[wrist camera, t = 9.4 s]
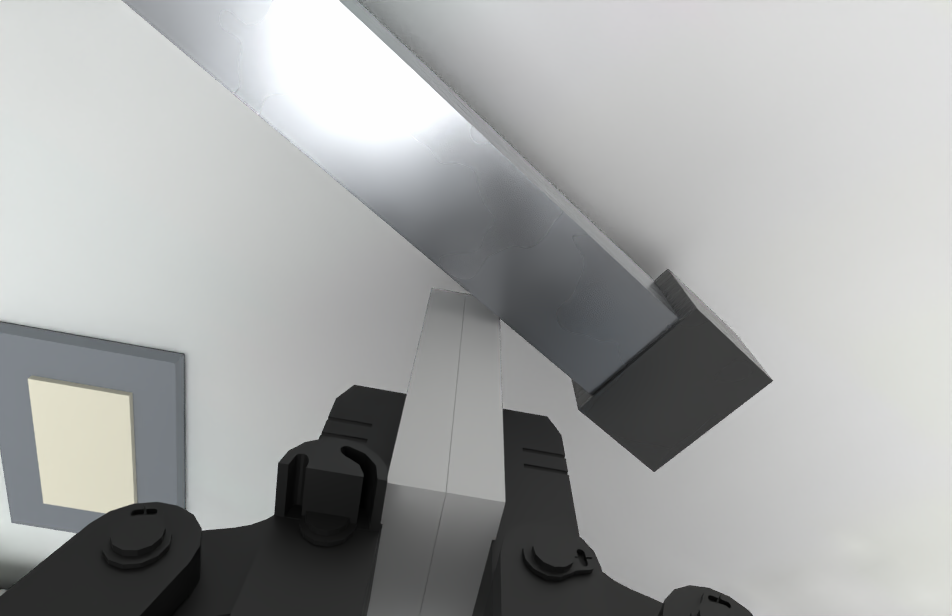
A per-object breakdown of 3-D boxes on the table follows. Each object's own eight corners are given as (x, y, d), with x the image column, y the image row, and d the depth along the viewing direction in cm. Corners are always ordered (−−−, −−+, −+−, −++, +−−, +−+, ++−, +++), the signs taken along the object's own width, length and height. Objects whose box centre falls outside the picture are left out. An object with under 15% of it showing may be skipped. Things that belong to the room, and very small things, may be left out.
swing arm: (-289, -338, 10) (-480, -428, 8) (-211, -615, 9) (-416, -804, 7) (622, 425, 16) (640, 482, 14) (748, 321, 15) (789, 368, 13)
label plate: (185, 536, 23) (175, 553, 23) (23, 510, 23) (7, 526, 22) (184, 354, 20) (172, 366, 19) (-5, 321, 20) (-24, 332, 19)
